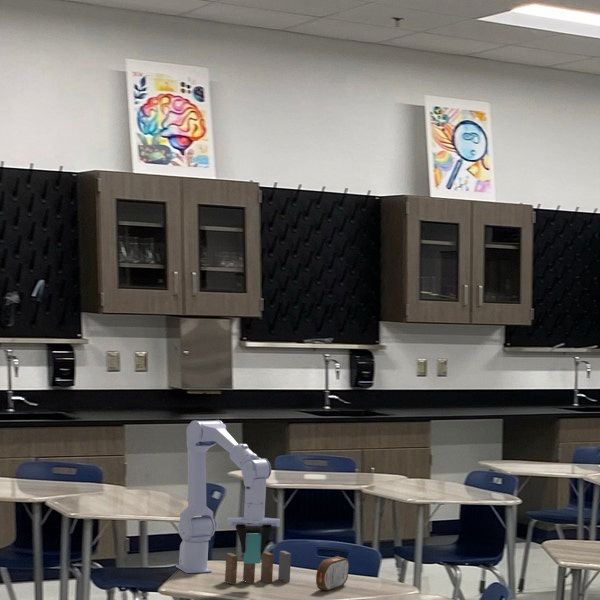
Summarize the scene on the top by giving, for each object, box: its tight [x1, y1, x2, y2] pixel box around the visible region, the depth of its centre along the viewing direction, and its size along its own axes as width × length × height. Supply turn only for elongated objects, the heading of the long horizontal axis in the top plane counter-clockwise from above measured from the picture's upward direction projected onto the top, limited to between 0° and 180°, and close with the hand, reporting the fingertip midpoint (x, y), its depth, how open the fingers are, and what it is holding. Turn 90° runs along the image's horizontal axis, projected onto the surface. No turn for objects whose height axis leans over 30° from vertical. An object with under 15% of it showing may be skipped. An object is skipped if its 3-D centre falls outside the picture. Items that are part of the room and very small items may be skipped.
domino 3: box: [260, 551, 274, 584], centre depth 331 cm, size 2×4×8 cm, turn 25°
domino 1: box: [224, 552, 239, 585], centre depth 326 cm, size 2×4×8 cm, turn 25°
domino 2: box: [242, 562, 256, 585], centre depth 328 cm, size 2×4×8 cm, turn 25°
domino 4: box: [277, 550, 292, 583], centre depth 333 cm, size 2×4×8 cm, turn 25°
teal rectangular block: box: [242, 532, 262, 565], centre depth 321 cm, size 2×4×8 cm, turn 103°
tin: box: [315, 555, 350, 592], centre depth 326 cm, size 15×3×8 cm, turn 149°
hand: (252, 552), depth 321 cm, fingers closed on teal rectangular block, 4 cm apart
